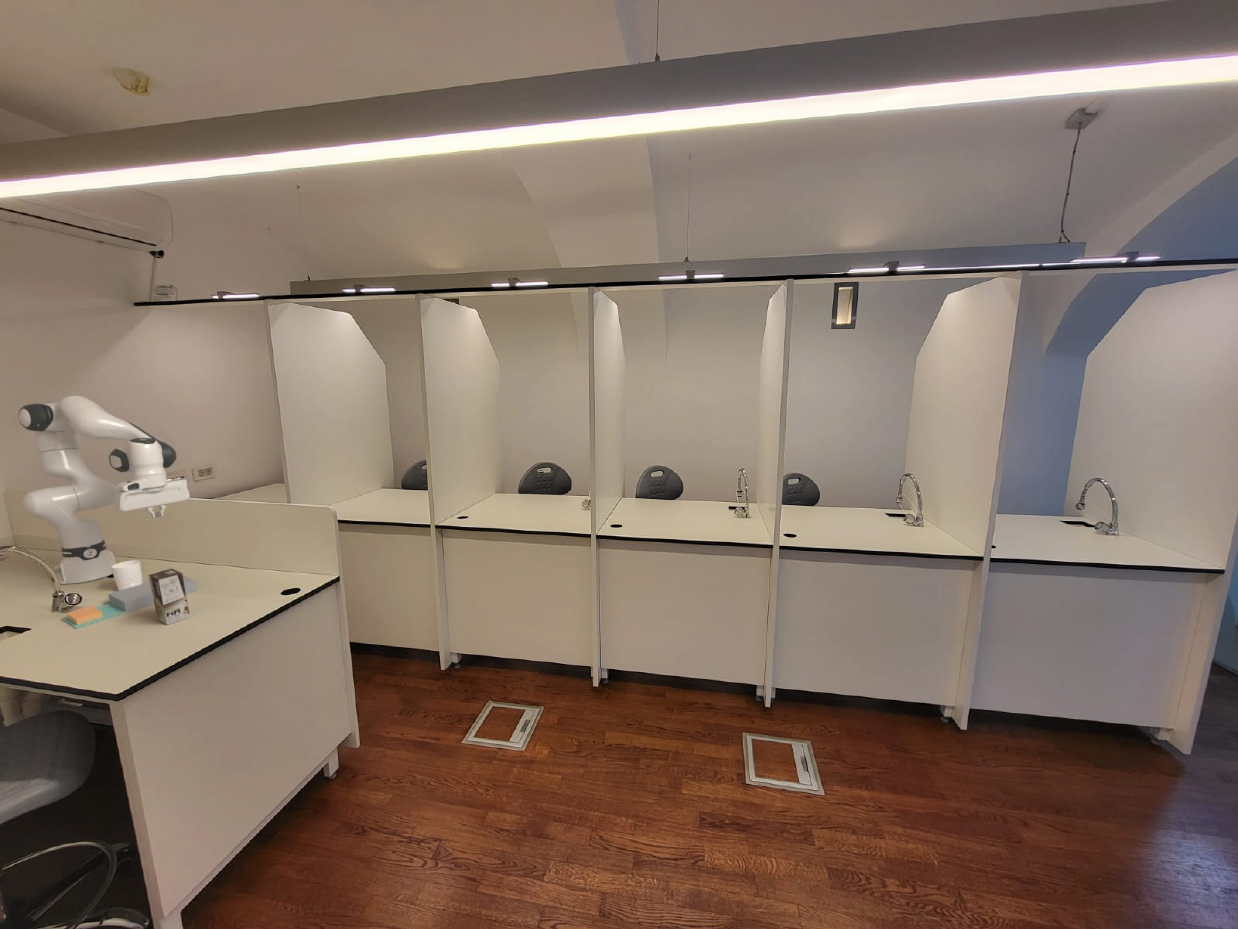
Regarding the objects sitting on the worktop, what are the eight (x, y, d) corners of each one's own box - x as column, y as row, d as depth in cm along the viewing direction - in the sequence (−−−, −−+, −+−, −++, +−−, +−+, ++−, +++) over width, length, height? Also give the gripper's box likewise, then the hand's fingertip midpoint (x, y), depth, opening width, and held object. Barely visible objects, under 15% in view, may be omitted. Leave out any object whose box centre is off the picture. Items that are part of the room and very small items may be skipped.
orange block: (91, 605, 166) (92, 611, 166) (66, 613, 160) (67, 618, 161) (101, 611, 162) (102, 616, 162) (76, 619, 156) (77, 625, 157)
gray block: (110, 604, 172) (108, 593, 171) (180, 583, 189) (178, 573, 189) (126, 612, 165) (124, 602, 165) (196, 590, 183) (195, 580, 182)
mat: (61, 619, 161) (61, 618, 161) (110, 604, 172) (110, 603, 172) (76, 628, 155) (76, 627, 155) (126, 612, 165) (126, 611, 165)
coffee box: (191, 617, 162) (183, 573, 159) (166, 625, 157) (157, 580, 154) (180, 610, 167) (172, 567, 164) (156, 618, 161) (147, 574, 159)
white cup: (114, 594, 179) (109, 569, 178) (118, 587, 185) (112, 563, 184) (143, 588, 184) (138, 564, 183) (146, 582, 190) (141, 558, 188)
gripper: (182, 475, 187) (188, 509, 189) (109, 486, 169) (117, 523, 171) (189, 477, 184) (195, 511, 187) (117, 487, 166) (124, 525, 169)
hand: (157, 517), depth 179 cm, fingers closed
